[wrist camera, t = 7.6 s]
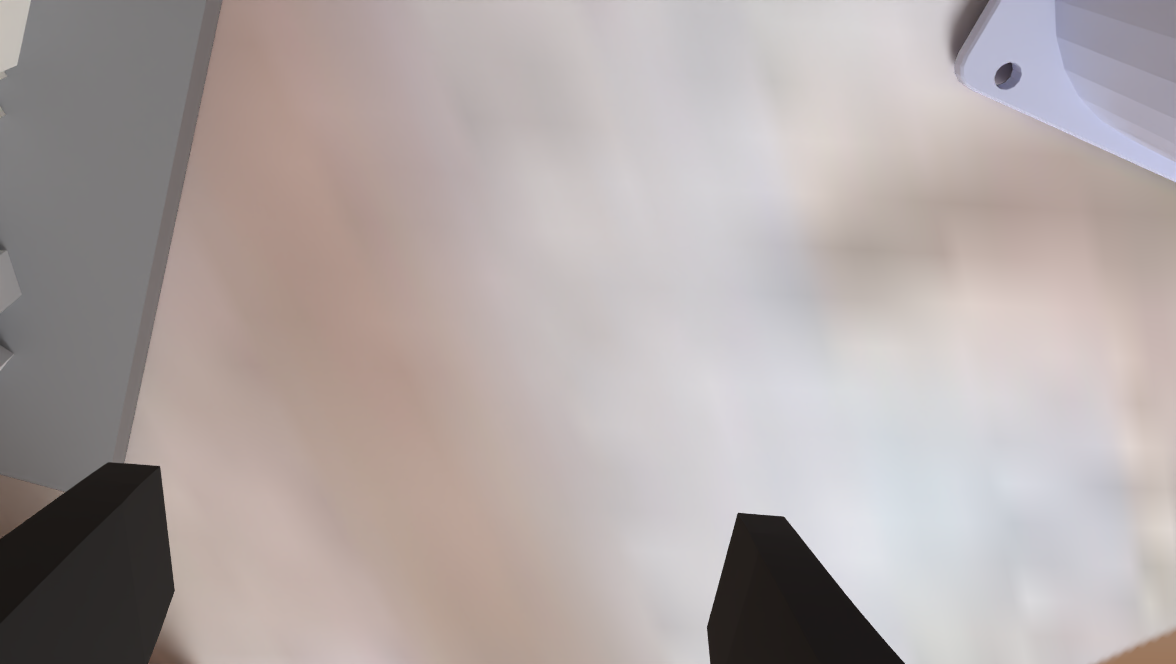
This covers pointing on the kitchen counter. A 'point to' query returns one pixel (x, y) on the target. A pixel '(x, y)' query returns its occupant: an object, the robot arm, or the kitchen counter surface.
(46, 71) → the gear board
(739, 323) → the kitchen counter surface
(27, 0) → the loose gear
